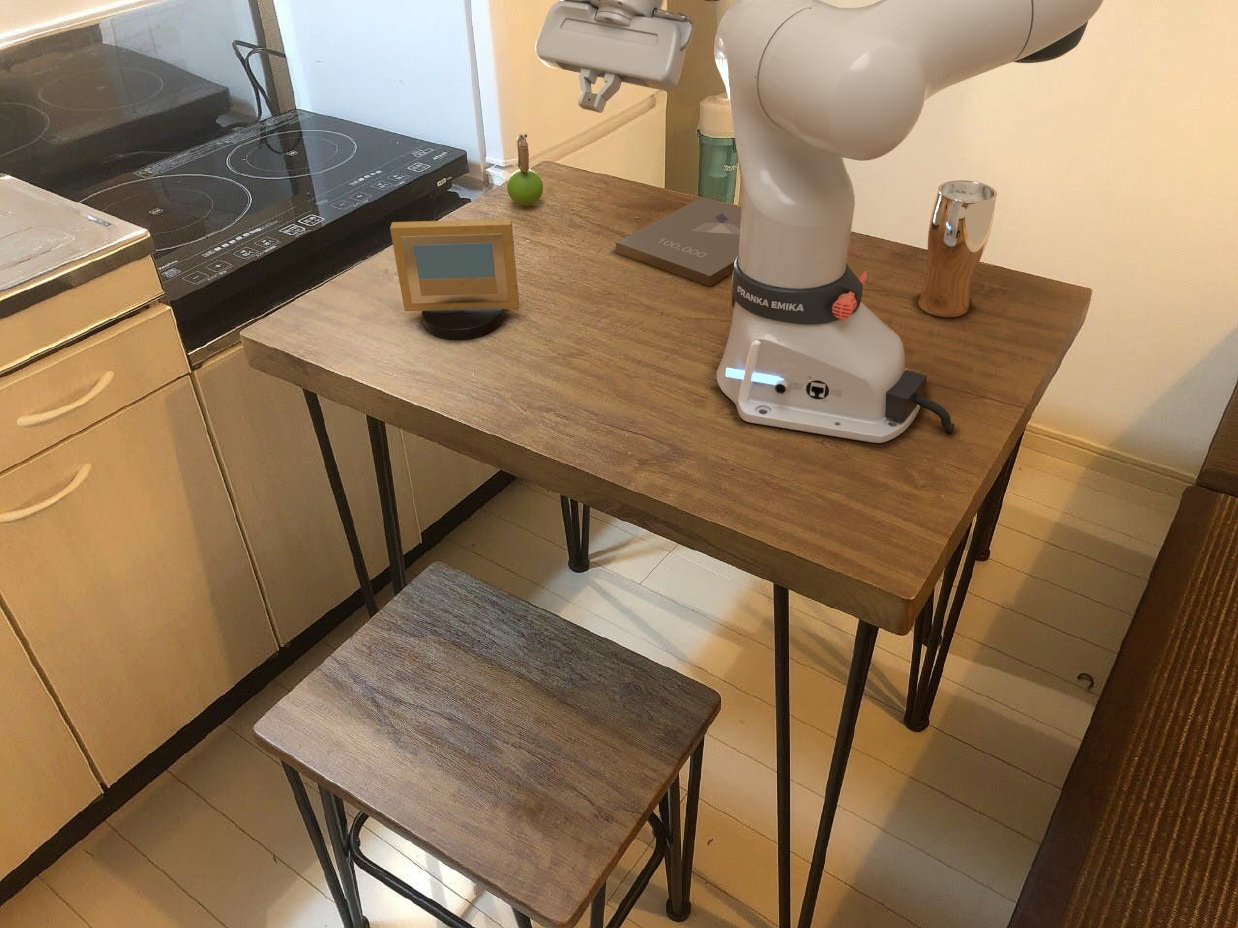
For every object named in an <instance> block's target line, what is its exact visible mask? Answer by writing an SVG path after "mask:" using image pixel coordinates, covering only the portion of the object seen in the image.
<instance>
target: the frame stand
mask: <svg viewBox="0 0 1238 928" xmlns="http://www.w3.org/2000/svg"><path fill="white" fill-rule="evenodd" d="M421 316H422V324H423V327H424V329H425V330H426V331H427V332H428V333H429V334H431V335H432V336H434V337H437V338H440V339H445V340H451V341H464V340H472V339H477V338H481V337H484V336H486V335H488V334H490V333H493V332H494V331H496V330H497V329H498V328H500V326H501V325H502V324H503V322H504V319H505V312H504V309H473V310H438V311H421Z"/></svg>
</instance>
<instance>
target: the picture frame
mask: <svg viewBox="0 0 1238 928" xmlns="http://www.w3.org/2000/svg"><path fill="white" fill-rule="evenodd" d="M512 221H513V220H512V218H497V219H496V218H495V219H494V218H493V219H492V218H491V219H462V220H461V219H460V220H459V219H458V220H427V221H426V220H424V221H423V220H421V221H420V220H419V221H392V222H391V225H390V227H389V231H390V236H391V241H392V248H393V253H394V259H395V264H396V269H397V276H398V282H399V286H400V292H401V298H402V302H403V303H402V304H403V309H404V312H422V311H438V310H473V309H503V310H504V309H506V310H507V309H519V308H520V307H519V305H520V297H519V284H518V273H517V265H516V254H515V253H516V252H515V242H514V233H513V232H514V231H513V222H512Z"/></svg>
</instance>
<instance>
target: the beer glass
mask: <svg viewBox="0 0 1238 928" xmlns="http://www.w3.org/2000/svg"><path fill="white" fill-rule="evenodd" d="M997 196H998V192H997V190H996V189H995V188H994V187H992V186H990V185H988V184H986V183H982V182H979V181H975V180H965V179H958V180H957V179H956V180H950V181H946V182H943V183H941V184H940V185H939V186H938V188H937V192H936V196H935V199H934V203H933V207H932V211H931V214H930V219H929V226H928V231H927V232H928V233H927V272H926V279H925V284H924V286H923V288H922V291H921V294H920V296H919V298H918V301H917V302H918V303H917V304H918V307H919V308H920V309H921V310H922V311H923V312H925V313H927V314H929V315H931V316H934V317H939V318H957V317H962V316H963V315H965V314H966V313H967V312H968V311H969V309H970V290H971V284H972V281H973V278H974V275H975V272H976V270H977V268H978V266H979V263H980V261H981V259H982V257H983V254H984V251H985V249H986V246H987V244H988V242H989V238H990V235H991V231H992V226H993V221H994V215H995V208H996V201H997Z"/></svg>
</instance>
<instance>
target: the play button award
mask: <svg viewBox="0 0 1238 928" xmlns="http://www.w3.org/2000/svg"><path fill="white" fill-rule="evenodd" d="M740 222H741V207H737V206H733V205H730V204H727V203H725V202H721V201H718V200H714V199H711V198H707V197H704V196H701V197H699V198H698V199H696V200H693V201H692V202H690V203H688V204H686V205H684V206H682V207H680V208H679V209H676V210H675V211H672V212H671V213H669V214H667V215H665V216H663V217H661V218H659V219H657V220H655V221H653V222H651V223H650V224H648V225H646V226H644V227H642V228H640V229H639V230H636V231H635V232H633V233H631V234H629V235H627V236H625V237H623V238H621V239H619V240H617V241H615V253H616V254H619V255H622V256H623V257H627V258H630V259H633V260H636V261H638V262H641V263H644V264H645V265H649V266H651V267H654V268H657V269H660V270H663V271H665V272H669V273H670V274H671V273H672V274H673V275H677V276H678V277H679V276H680V277H681V278H684V279H688V280H690V281H692V282H695V283H699V284H701V285H704V286H707V287H712V286H713V285H715V284H717V283H718V282H720V281H722V280H723V279H725V278H727V277H729V276H730V275H731V274H733V270H734V263H735V259H736V258H737V257H739V242H740Z"/></svg>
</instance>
